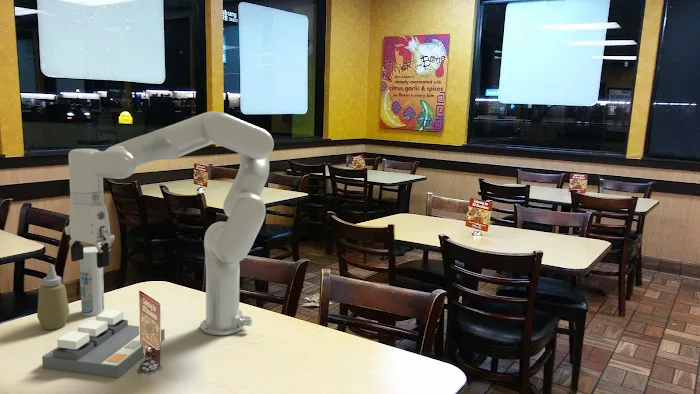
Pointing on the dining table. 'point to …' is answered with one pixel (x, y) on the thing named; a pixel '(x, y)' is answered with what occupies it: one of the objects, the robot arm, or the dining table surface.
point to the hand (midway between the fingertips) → (90, 263)
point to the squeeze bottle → (52, 302)
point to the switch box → (101, 352)
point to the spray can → (91, 283)
